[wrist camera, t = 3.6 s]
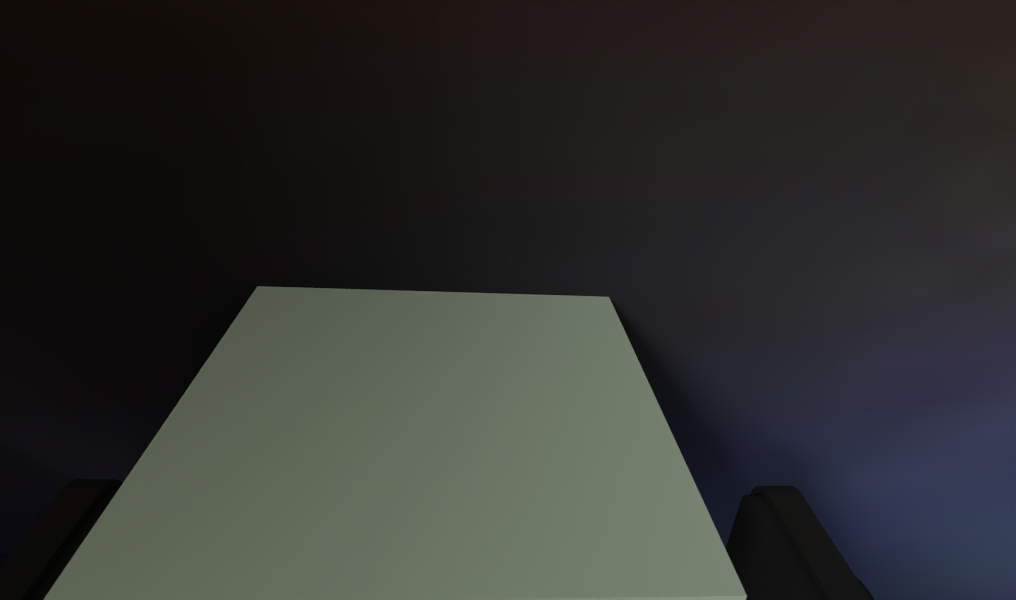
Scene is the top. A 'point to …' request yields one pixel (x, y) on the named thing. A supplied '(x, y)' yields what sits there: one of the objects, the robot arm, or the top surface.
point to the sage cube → (410, 462)
